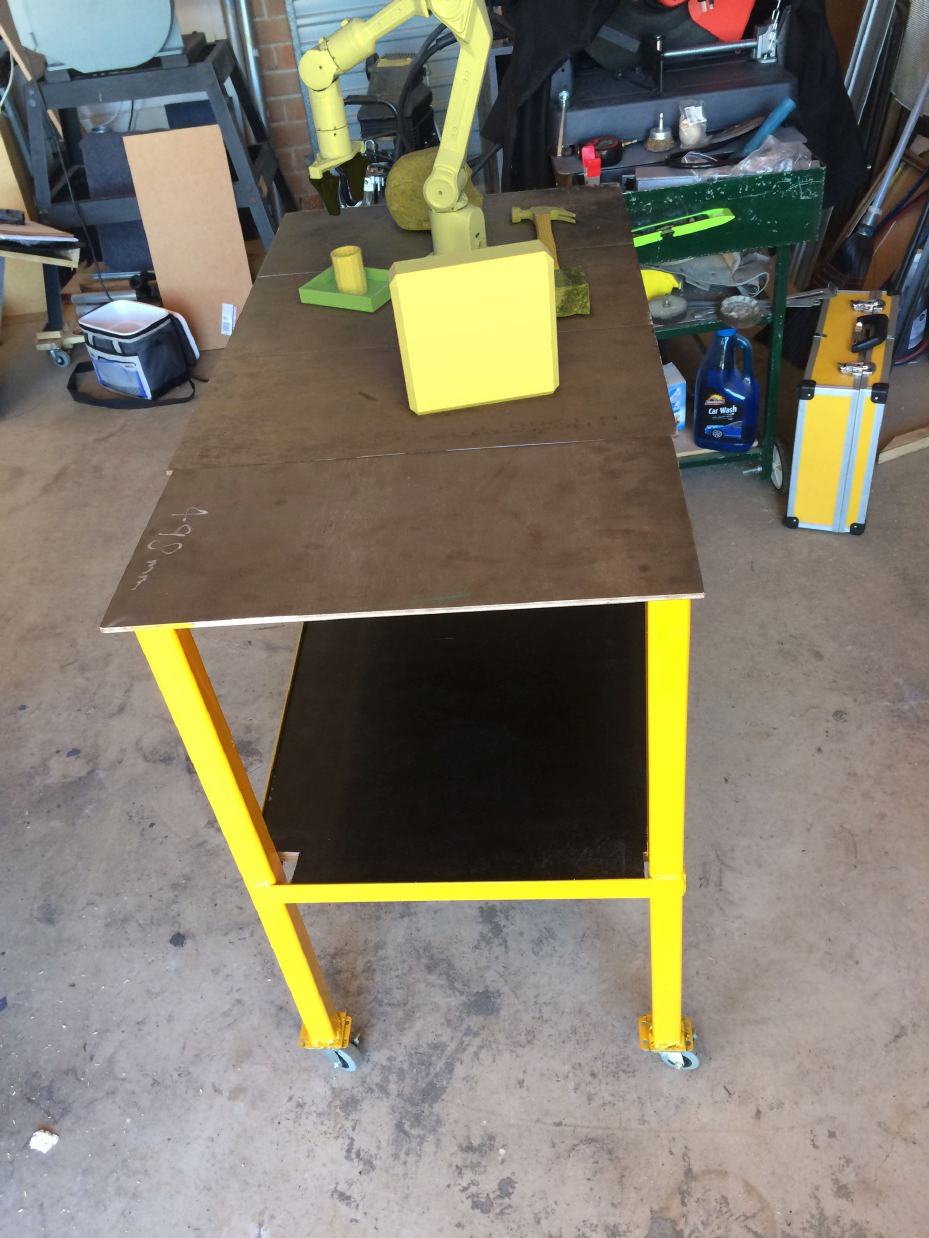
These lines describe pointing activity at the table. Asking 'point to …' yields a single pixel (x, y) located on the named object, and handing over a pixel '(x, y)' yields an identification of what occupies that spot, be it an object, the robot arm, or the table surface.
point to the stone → (417, 189)
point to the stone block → (571, 291)
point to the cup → (349, 270)
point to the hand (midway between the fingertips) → (346, 207)
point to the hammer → (543, 224)
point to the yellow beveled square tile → (476, 326)
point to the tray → (326, 293)
